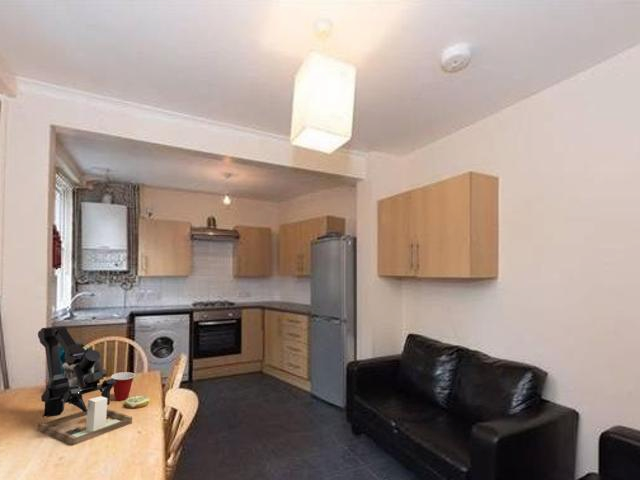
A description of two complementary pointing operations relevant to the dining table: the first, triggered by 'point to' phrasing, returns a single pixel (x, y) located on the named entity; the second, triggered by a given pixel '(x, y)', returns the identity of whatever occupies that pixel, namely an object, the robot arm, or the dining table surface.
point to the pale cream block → (96, 413)
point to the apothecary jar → (70, 375)
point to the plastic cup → (122, 385)
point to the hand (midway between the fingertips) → (97, 407)
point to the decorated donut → (137, 401)
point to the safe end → (89, 432)
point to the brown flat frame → (74, 440)
